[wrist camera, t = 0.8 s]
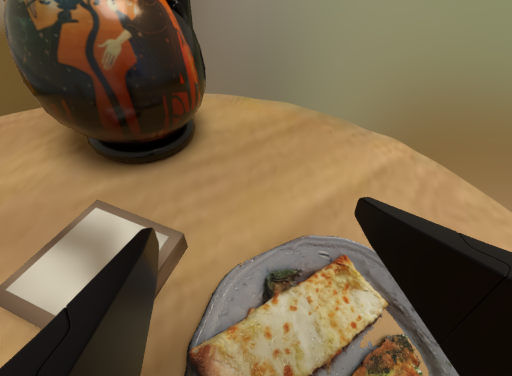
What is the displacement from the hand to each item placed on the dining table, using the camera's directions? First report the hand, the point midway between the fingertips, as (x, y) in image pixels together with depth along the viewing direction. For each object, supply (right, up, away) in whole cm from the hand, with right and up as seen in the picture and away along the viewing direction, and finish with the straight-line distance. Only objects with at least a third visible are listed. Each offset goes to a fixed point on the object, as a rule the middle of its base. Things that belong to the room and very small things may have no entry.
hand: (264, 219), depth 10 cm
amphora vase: (-19, +10, +29) cm, 36 cm away
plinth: (-15, -7, +13) cm, 21 cm away
